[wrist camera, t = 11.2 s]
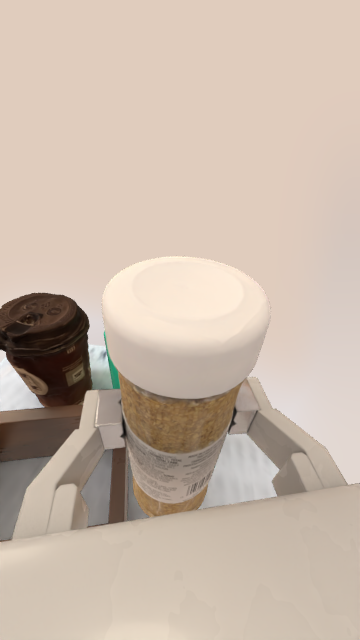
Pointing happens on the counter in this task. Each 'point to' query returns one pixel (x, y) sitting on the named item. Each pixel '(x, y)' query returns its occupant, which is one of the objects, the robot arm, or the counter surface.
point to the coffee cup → (48, 346)
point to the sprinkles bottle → (180, 369)
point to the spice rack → (58, 446)
